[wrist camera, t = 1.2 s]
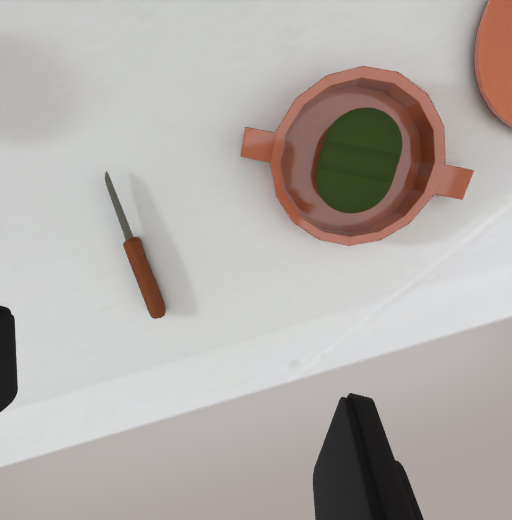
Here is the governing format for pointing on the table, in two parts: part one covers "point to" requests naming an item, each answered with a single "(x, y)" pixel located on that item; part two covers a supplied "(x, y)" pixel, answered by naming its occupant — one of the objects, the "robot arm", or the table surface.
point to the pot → (310, 142)
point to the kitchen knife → (138, 260)
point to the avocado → (358, 160)
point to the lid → (495, 58)
